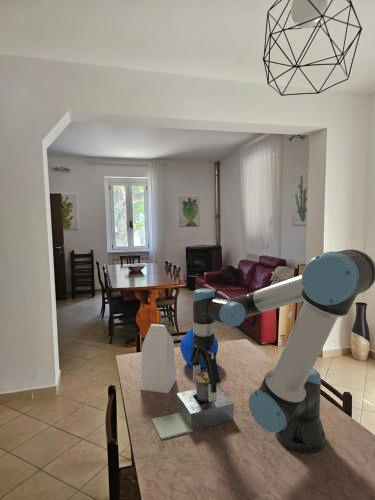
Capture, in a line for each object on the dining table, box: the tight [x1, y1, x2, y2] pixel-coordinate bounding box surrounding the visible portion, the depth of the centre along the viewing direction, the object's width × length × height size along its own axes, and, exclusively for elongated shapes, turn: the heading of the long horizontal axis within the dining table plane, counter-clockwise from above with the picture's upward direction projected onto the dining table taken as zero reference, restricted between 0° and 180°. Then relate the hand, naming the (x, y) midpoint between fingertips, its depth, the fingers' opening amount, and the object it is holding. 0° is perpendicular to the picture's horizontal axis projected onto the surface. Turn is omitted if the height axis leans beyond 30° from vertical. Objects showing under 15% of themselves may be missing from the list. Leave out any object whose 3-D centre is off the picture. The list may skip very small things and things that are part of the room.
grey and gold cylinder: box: [195, 371, 212, 405], centre depth 118 cm, size 7×7×14 cm
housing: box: [176, 386, 235, 431], centre depth 118 cm, size 14×16×6 cm
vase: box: [179, 326, 219, 369], centre depth 159 cm, size 18×18×30 cm
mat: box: [151, 411, 194, 441], centre depth 112 cm, size 11×11×1 cm
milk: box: [140, 323, 177, 394], centre depth 139 cm, size 12×12×26 cm
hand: (204, 390), depth 118 cm, fingers open, 13 cm apart
